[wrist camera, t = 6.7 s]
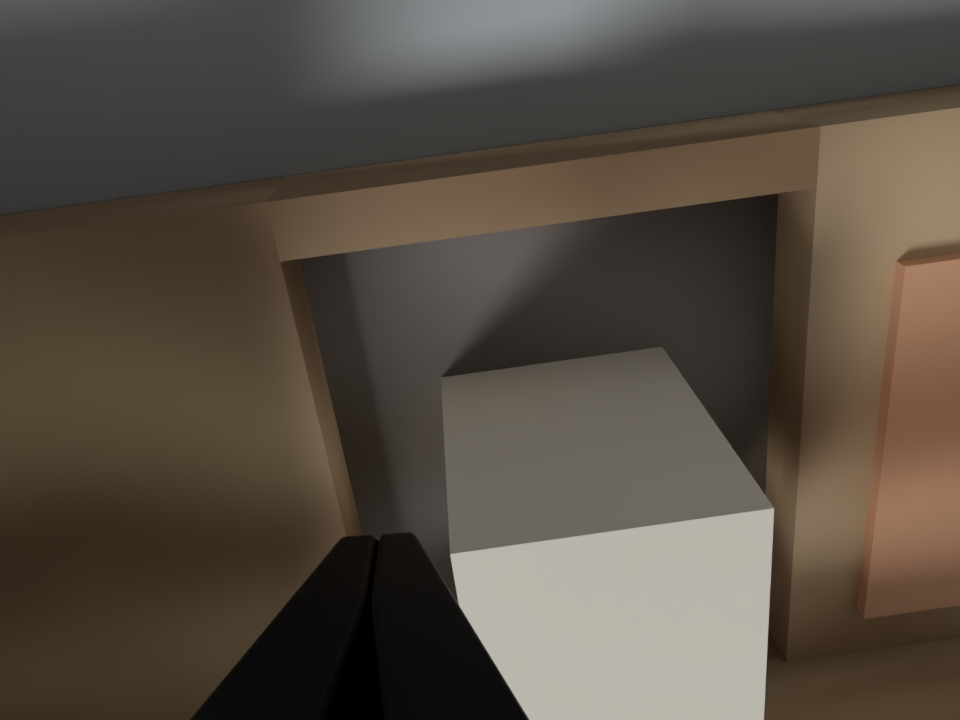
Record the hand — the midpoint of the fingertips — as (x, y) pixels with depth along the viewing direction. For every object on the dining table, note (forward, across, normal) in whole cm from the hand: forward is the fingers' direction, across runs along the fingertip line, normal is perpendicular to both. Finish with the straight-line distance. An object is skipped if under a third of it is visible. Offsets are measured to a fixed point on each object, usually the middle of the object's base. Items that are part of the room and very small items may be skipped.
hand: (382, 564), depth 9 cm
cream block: (+7, -3, +3) cm, 8 cm away
